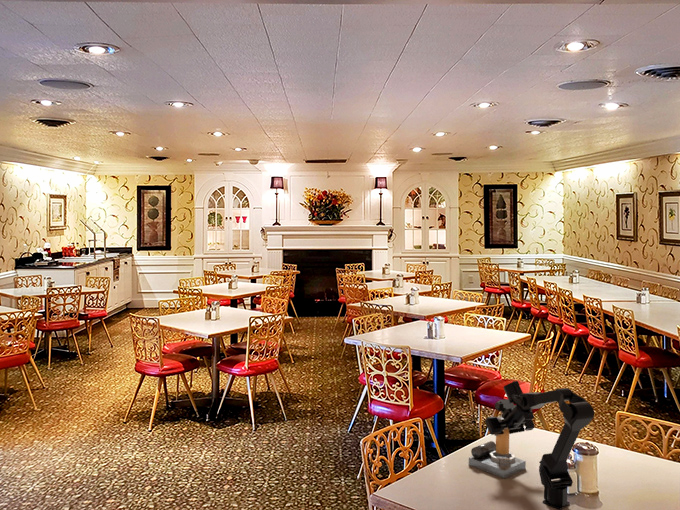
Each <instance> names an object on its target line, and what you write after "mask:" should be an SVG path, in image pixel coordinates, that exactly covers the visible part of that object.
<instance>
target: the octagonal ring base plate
mask: <svg viewBox="0 0 680 510" xmlns="http://www.w3.org/2000/svg"><path fill="white" fill-rule="evenodd" d="M470 451H471V456H469V457H468V466H470V467H473V468H476V469H477V470H480V471H483V472H486V473H488V474H491V475H493V476H495V477H499V478H500V479H508V478H510V477H511V476H513V475H517V474H518V473H519V472H522V471H523V470H524V471H525V470H526V467H527V466H526V465H527V461H526V460H524V459H521V458H518V457H516V456H515V454H514V453H512V452H510V451H509V454H499V453H496V442H495V441H492V440H490V441H487V442H485V443H481V444H480V445H476V446H475V447H472V448H471V450H470Z"/></svg>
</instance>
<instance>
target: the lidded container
mask: <svg viewBox="0 0 680 510" xmlns="http://www.w3.org/2000/svg"><path fill="white" fill-rule="evenodd" d="M496 417H497V418H498V420H499V422H502V419H504V418H502V416H496ZM503 432H504V434H501V435H497V436H495V444H496V453H499V454H509V452H510V434H509V429H508V428H505V429H504V430H503Z"/></svg>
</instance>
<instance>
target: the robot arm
mask: <svg viewBox="0 0 680 510" xmlns="http://www.w3.org/2000/svg"><path fill="white" fill-rule="evenodd" d="M503 390H504V393H505V395H506V399H499V400H497V401H496V402H495V404H494V408H495V409H496V411H497V412H501V416H500V417H502V418H504V419H502V422H499V420H498V418H497V417H498V416H494V415H493V416H487V417H486V418H485V420H484V422H485V425H486V427H487V430H488V432H489V433H488V434H490V435H491V436H495V437H496V436H497V435H501V434H504V432H503V430H504V429H505V428H508V429H509V435H511V434H517V433H522V432H529V431H533V430H534V429H535V425H536V424H535V422H534V419H535V415H534V412H533V410H535V409H536V410H537V409H541V408H543V407H544V406H545V405H546V404H552V403H558V409H559V411H560V412H561V413H562V417H563V420H564V424H563V427H562V428H561V431H560V433H559V436H558V438H557V440H556V442H555V444H554V447H553V449H552V451H551V452H549V453H544V454H543V455H542V456H541V459H540V461H539V462H538V463H539V467H538V471H539V477H540V483H541V485H542V486H543V499H544V500H542V503H543V504H544V505H547V506H550V507H552V508H555V509H557V510H562V509H564V508H566V507H568V506H569V505H570V501H568V492H569V491H568V490H569V489H568V487H569V488H570V487H572V486H573V483H574V481H573V479H572V477H571V475H570V472H569V465H568V462H567V460H568V458H569V456H570V453H572V452H571V451H572V450H573V447H574V446H575V443H576V441H577V439H578V437H579V435H580V432H581V431H582V429H584V428H586V427H587V426H588V425H589V424H590V423H591V422H592V420H593V419H594V417H595V410H594V407H593V406H592V405H591V403H589V402H588V401H587V400H586V399H585V398H584V397H582V396H581V395H579V394H576V392H573V390H571V388H567V387H565V388H564V387H563V388H556V389H553V390H550V391H545V392H543V391H542V392H538V391H534V392H523V390H522V388H521V386H520V383H519V380H514V381H512V382H510V383H507V384H505V385H504V386H503ZM567 401H568V402H569V403H567Z"/></svg>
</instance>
